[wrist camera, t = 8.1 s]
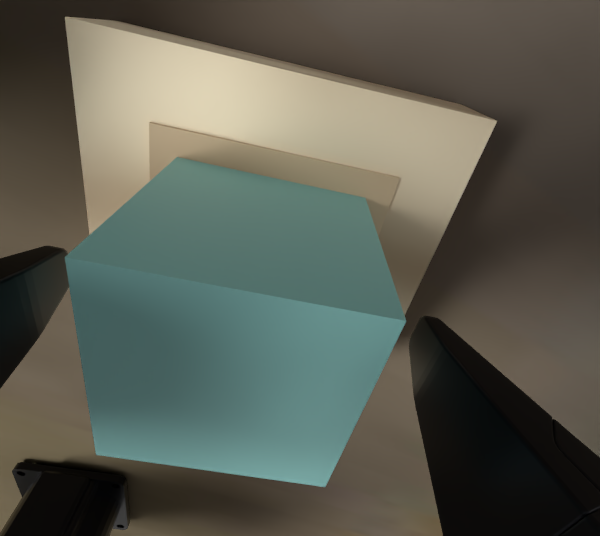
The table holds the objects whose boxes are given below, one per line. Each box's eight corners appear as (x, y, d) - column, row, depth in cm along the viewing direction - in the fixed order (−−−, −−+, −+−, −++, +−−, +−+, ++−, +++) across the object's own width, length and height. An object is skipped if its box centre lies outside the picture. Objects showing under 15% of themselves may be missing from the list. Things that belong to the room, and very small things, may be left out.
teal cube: (320, 333, 12) (324, 487, 8) (172, 307, 12) (96, 454, 8) (365, 197, 10) (406, 320, 6) (176, 156, 9) (64, 257, 5)
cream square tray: (361, 344, 16) (369, 392, 14) (131, 303, 15) (100, 348, 13) (461, 104, 11) (499, 121, 9) (117, 20, 10) (62, 16, 8)
